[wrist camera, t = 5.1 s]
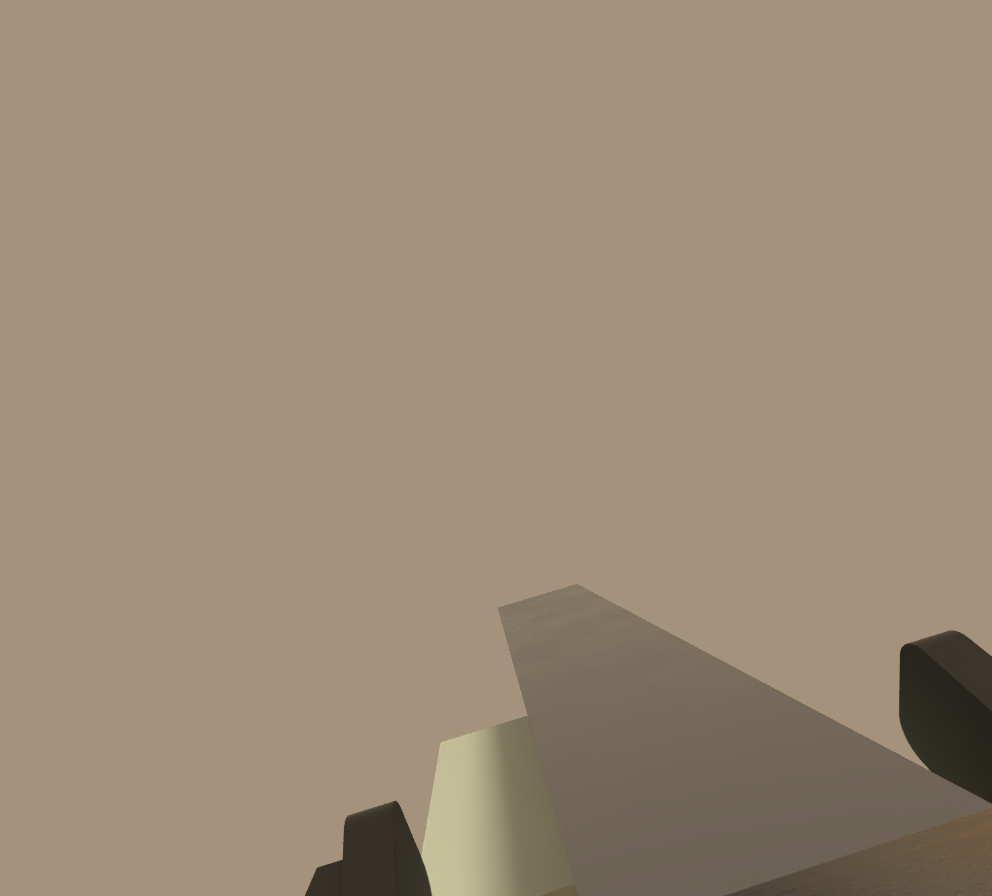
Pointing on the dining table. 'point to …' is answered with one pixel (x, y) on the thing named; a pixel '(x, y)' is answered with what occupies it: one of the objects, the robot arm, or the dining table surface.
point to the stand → (494, 819)
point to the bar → (721, 773)
